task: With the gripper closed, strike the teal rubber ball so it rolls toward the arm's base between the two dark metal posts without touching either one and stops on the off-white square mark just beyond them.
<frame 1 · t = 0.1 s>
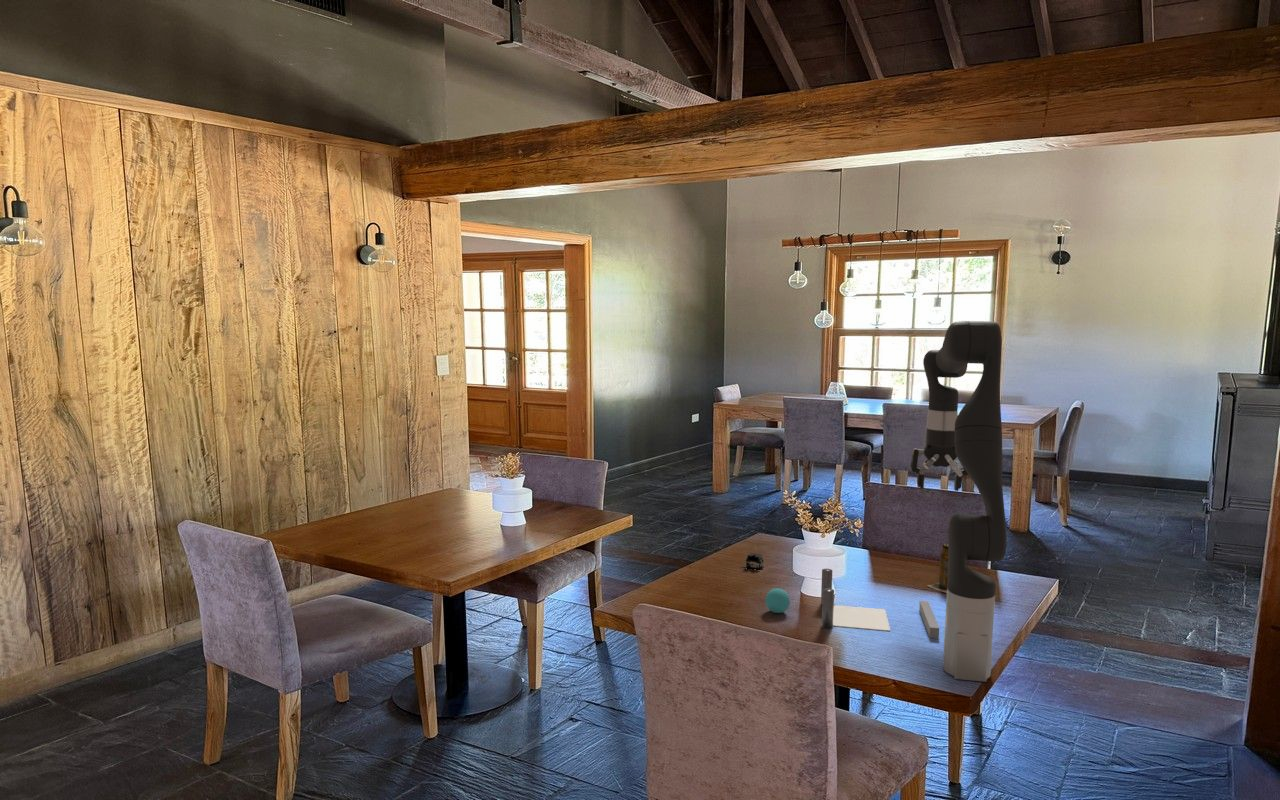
hand: (938, 489, 208), 29 cm above the table, tool pointing down, fingers open, 8 cm apart
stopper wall: (928, 623, 194), on the table
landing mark: (857, 617, 197), on the table
post back: (826, 604, 206), on the table
ball: (777, 600, 200), on the table
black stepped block: (754, 570, 236), on the table
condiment: (947, 588, 220), on the table
post front: (827, 626, 191), on the table
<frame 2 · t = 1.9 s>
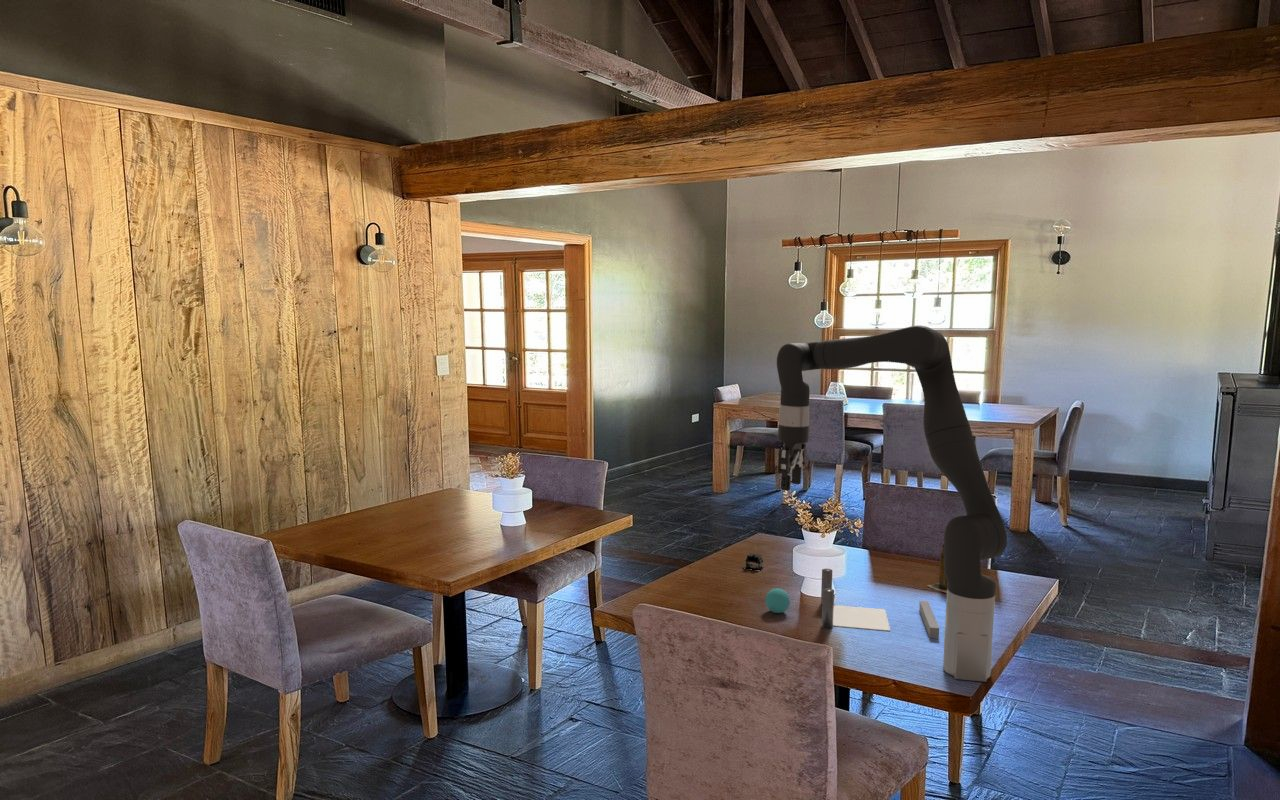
hand: (790, 486, 202), 31 cm above the table, tool pointing down, fingers open, 8 cm apart
nothing on the table moved.
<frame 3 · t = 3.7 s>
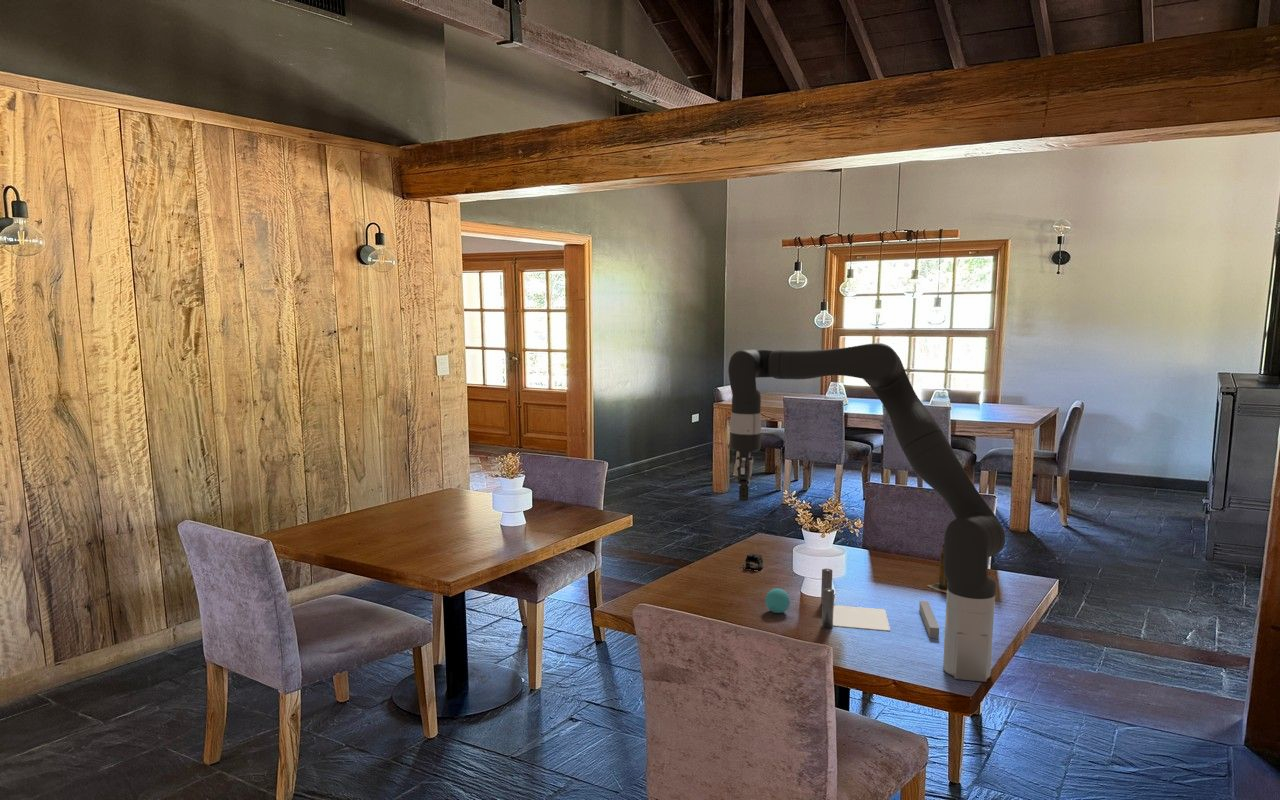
hand: (743, 500, 199), 28 cm above the table, tool pointing down, fingers closed
nothing on the table moved.
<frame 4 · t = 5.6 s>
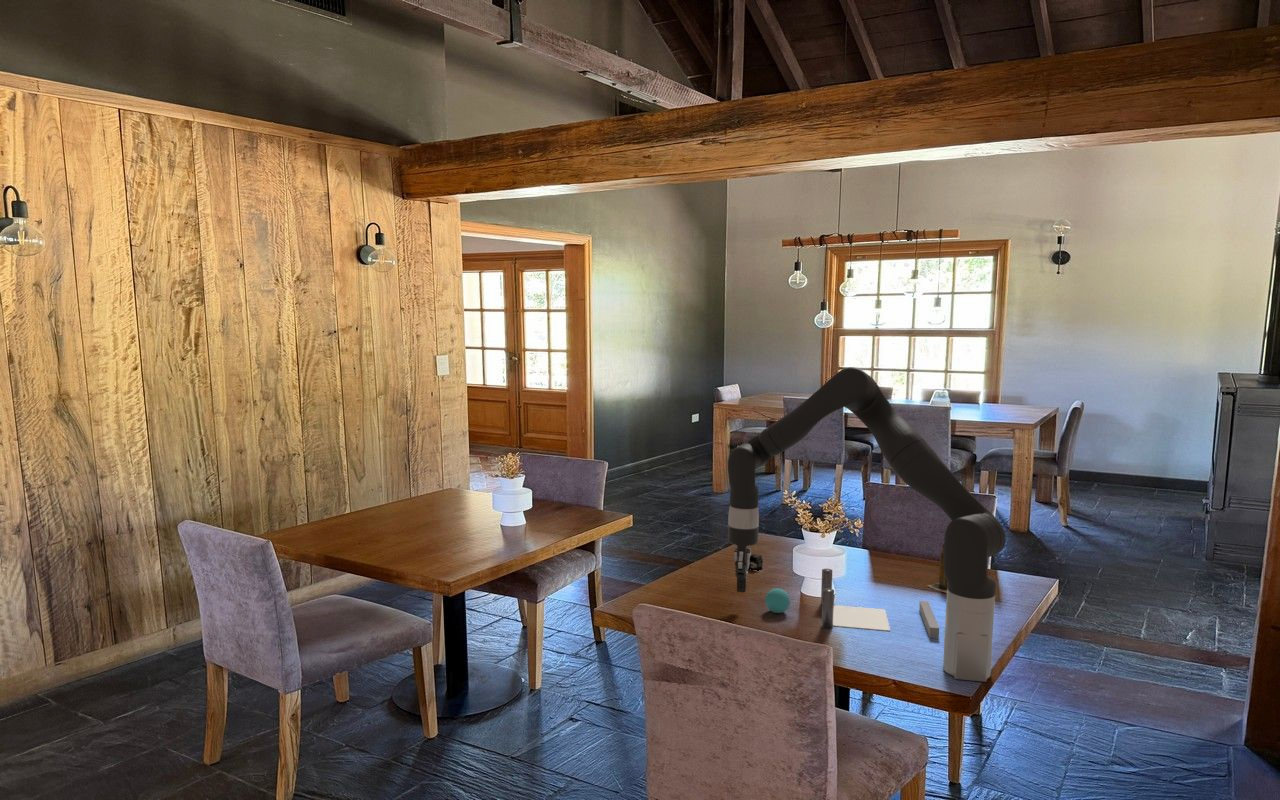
hand: (741, 591, 202), 5 cm above the table, tool pointing down, fingers closed
nothing on the table moved.
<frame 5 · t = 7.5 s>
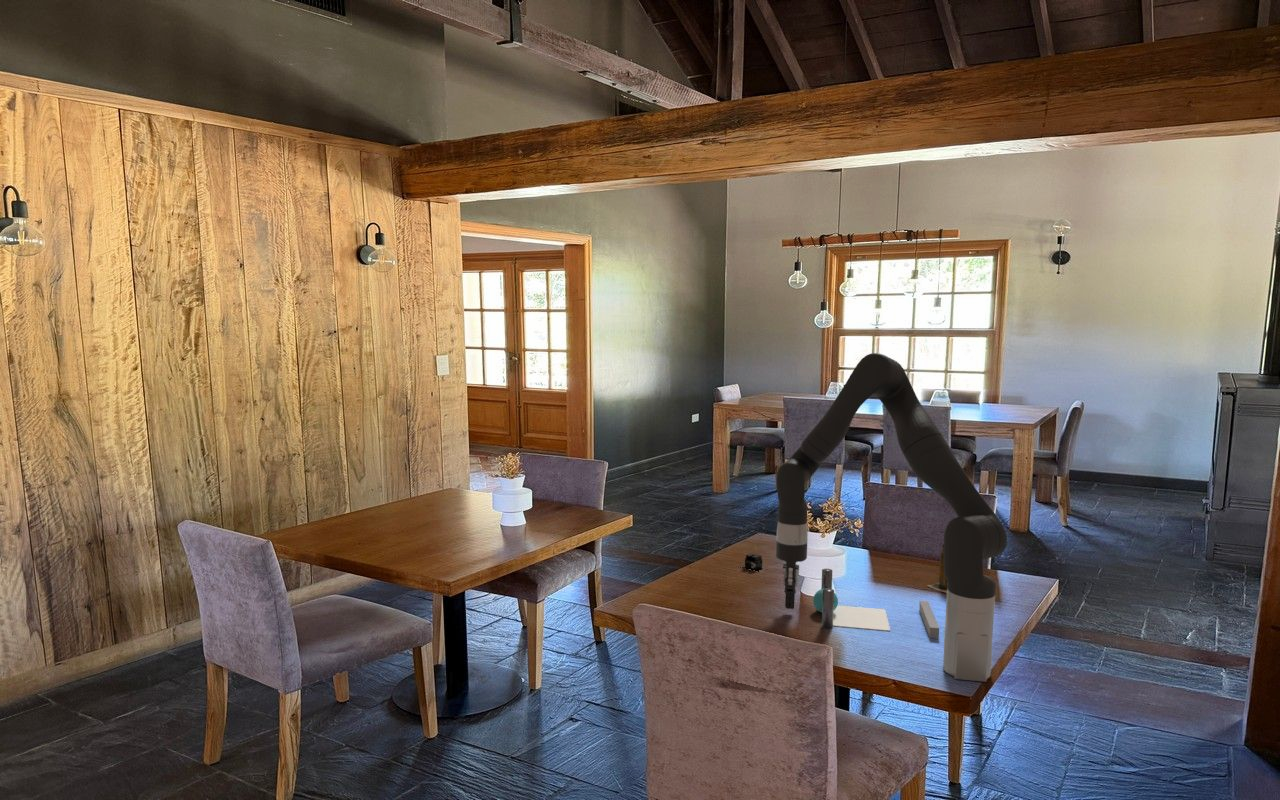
hand: (789, 607, 199), 2 cm above the table, tool pointing down, fingers closed
ball: (825, 601, 200), on the table
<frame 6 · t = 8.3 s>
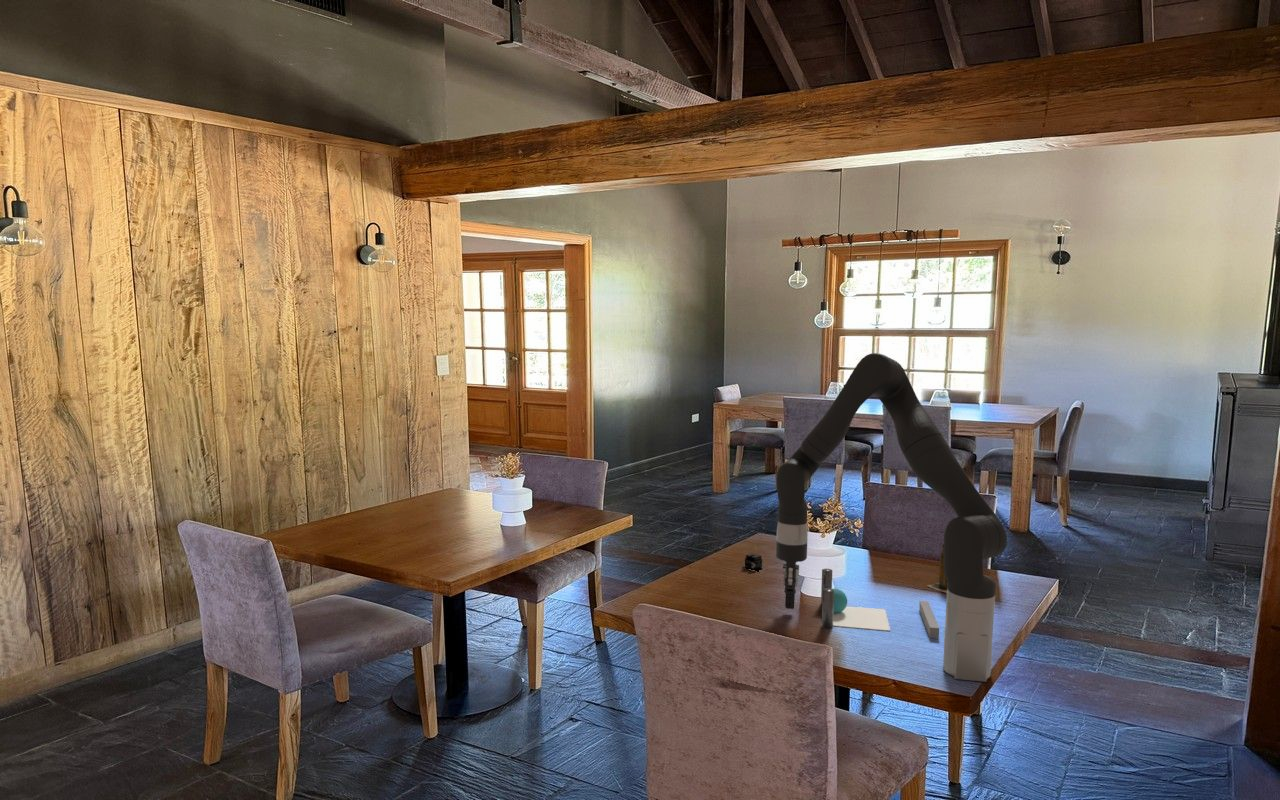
hand: (789, 607, 199), 2 cm above the table, tool pointing down, fingers closed
ball: (834, 600, 200), on the table
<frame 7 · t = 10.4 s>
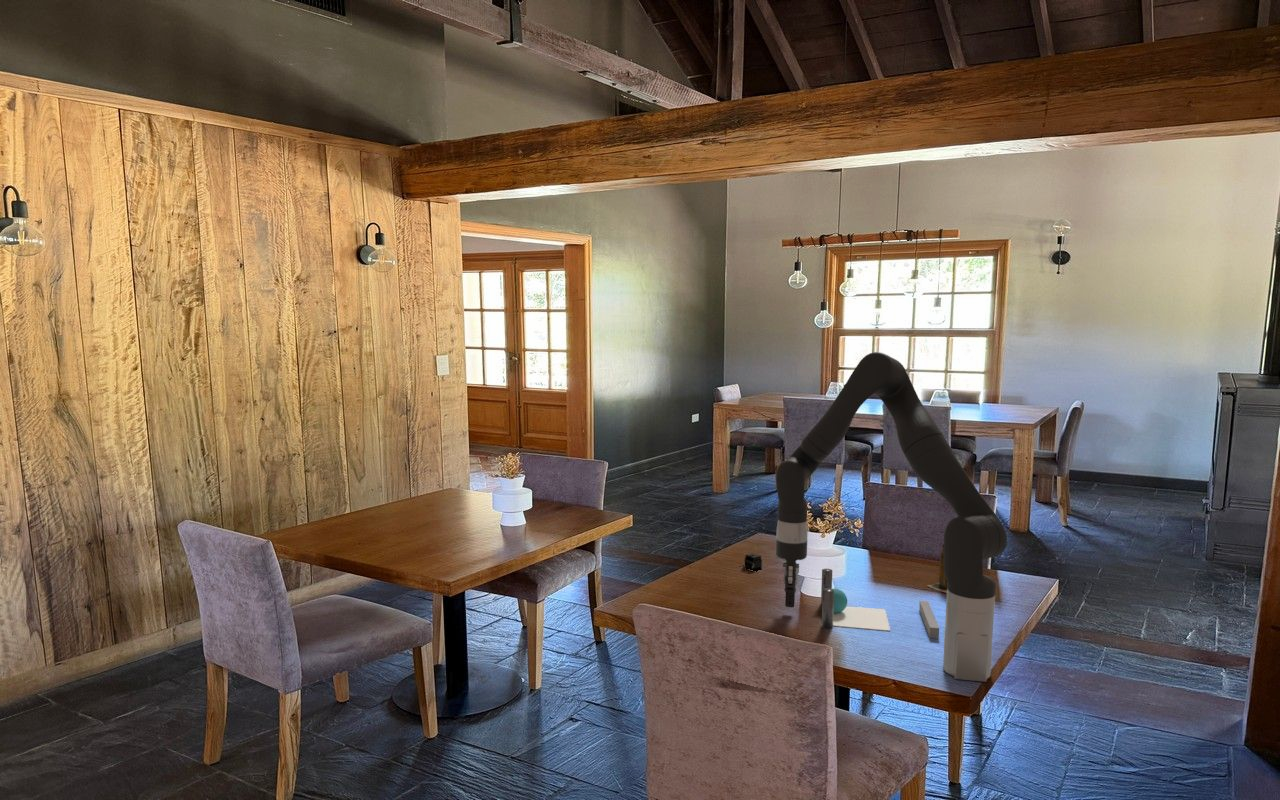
hand: (789, 606, 199), 2 cm above the table, tool pointing down, fingers closed
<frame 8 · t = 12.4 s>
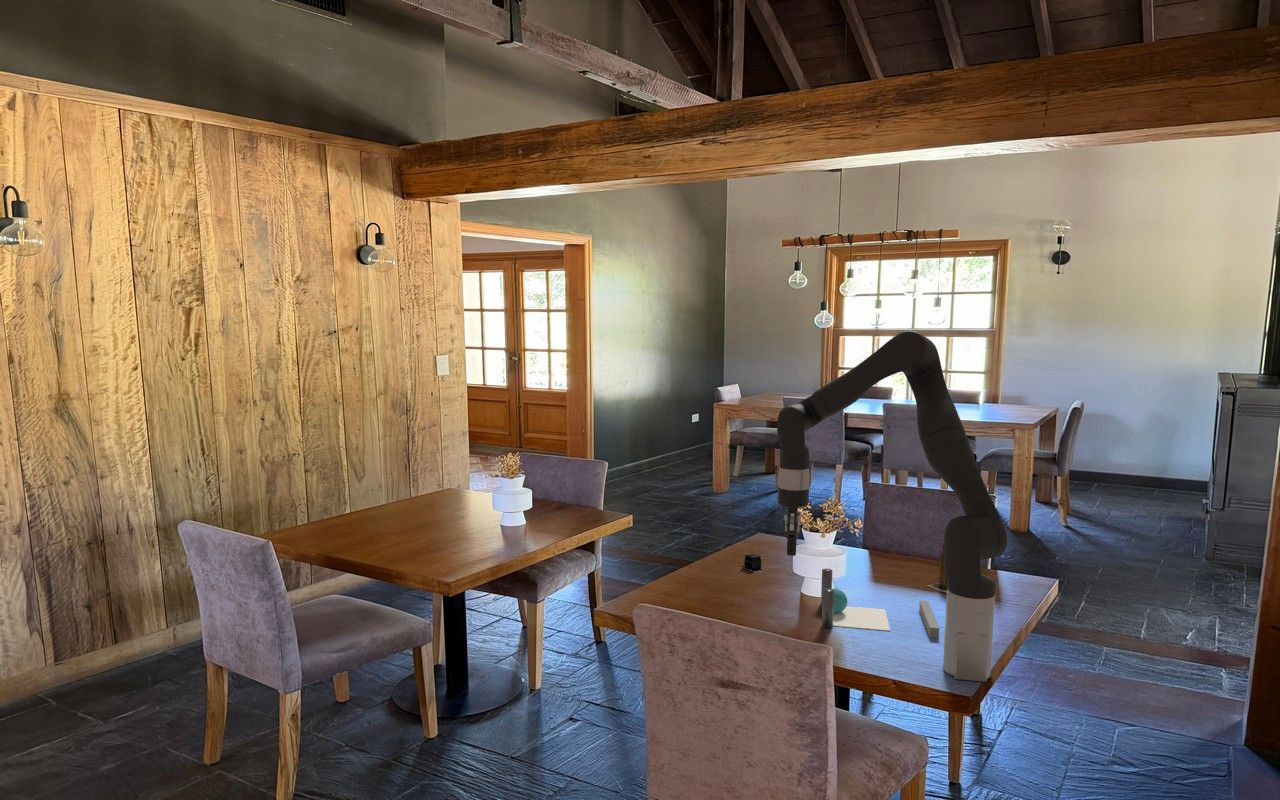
hand: (791, 554, 198), 15 cm above the table, tool pointing down, fingers closed
at the end: ball 6.0 cm from the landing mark (horizontally); ball never touched post front; ball never touched post back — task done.
